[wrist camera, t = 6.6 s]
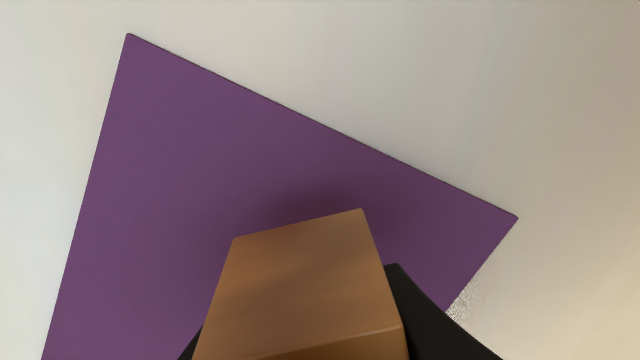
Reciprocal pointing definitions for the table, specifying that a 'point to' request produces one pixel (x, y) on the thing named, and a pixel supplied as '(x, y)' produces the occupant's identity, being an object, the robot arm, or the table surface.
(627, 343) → the table surface
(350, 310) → the wooden knob on block
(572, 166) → the table surface
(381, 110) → the table surface
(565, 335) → the table surface
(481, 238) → the felt cloth
